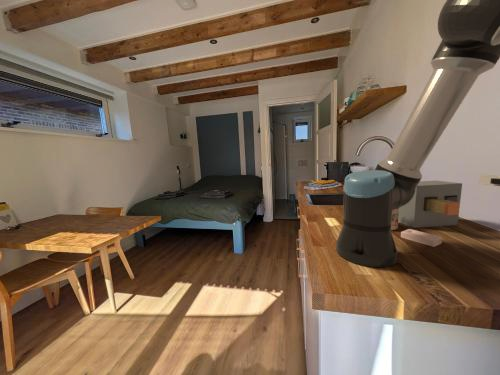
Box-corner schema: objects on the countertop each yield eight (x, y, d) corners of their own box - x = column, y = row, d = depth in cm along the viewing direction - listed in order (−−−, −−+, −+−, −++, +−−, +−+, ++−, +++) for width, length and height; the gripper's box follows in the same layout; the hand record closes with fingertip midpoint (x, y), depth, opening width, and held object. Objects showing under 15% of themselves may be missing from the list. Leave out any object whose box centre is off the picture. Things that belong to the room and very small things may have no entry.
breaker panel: (414, 228, 75) (417, 186, 72) (392, 219, 85) (395, 182, 83) (458, 225, 76) (463, 183, 74) (432, 217, 86) (435, 180, 84)
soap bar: (433, 248, 60) (434, 240, 59) (400, 238, 68) (400, 231, 67) (442, 244, 62) (443, 236, 62) (408, 234, 70) (409, 228, 70)
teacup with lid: (393, 232, 71) (395, 200, 70) (366, 226, 78) (367, 197, 77) (404, 224, 79) (406, 195, 77) (378, 219, 86) (379, 193, 84)
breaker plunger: (447, 215, 66) (448, 203, 66) (420, 207, 76) (420, 197, 76) (458, 214, 67) (459, 202, 66) (429, 207, 77) (430, 197, 76)
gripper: (607, 215, 35) (459, 193, 59) (670, 210, 36) (499, 190, 59) (617, 173, 34) (462, 167, 57) (681, 169, 35) (503, 165, 58)
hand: (481, 179), depth 58 cm, fingers closed
